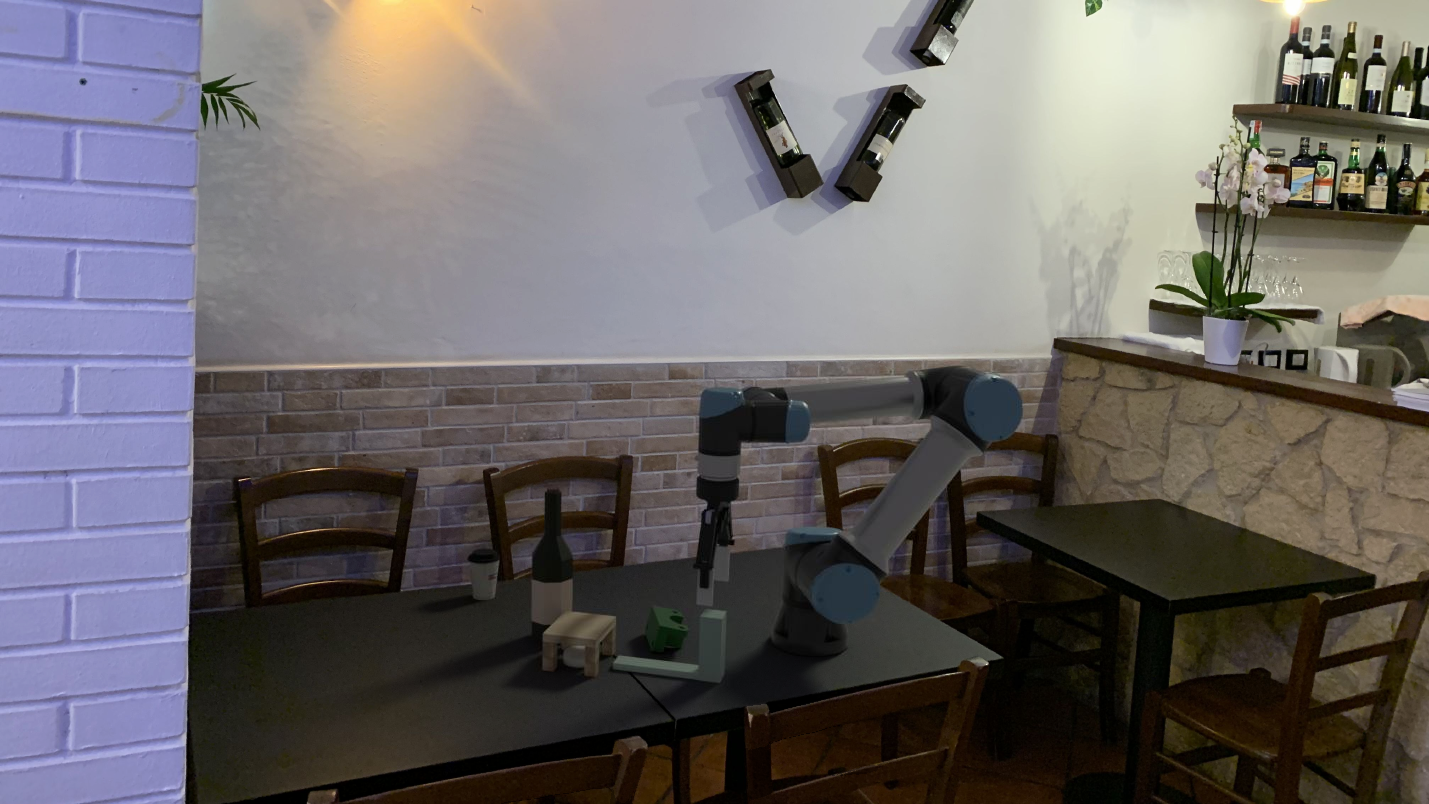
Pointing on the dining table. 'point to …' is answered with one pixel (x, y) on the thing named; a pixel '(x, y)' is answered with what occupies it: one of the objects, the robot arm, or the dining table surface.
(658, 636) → the clamp
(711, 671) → the l-shaped bracket
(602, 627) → the riser
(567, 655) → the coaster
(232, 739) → the dining table surface
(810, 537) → the robot arm
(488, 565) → the coffee cup
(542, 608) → the wine bottle
